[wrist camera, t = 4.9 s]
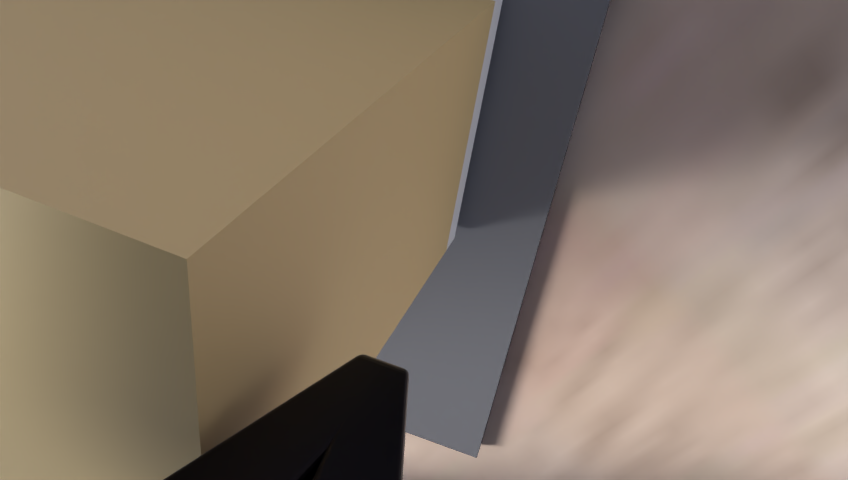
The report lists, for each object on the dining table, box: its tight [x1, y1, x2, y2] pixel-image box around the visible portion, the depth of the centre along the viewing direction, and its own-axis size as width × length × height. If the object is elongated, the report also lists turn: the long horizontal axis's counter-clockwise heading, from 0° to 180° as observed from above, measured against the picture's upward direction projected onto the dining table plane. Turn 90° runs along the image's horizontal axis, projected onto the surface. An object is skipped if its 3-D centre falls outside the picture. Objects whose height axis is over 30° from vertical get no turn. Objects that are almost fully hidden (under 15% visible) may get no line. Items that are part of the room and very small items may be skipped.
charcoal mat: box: [376, 0, 610, 458], centre depth 18 cm, size 22×22×1 cm
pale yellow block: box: [0, 0, 503, 480], centre depth 12 cm, size 6×6×10 cm
